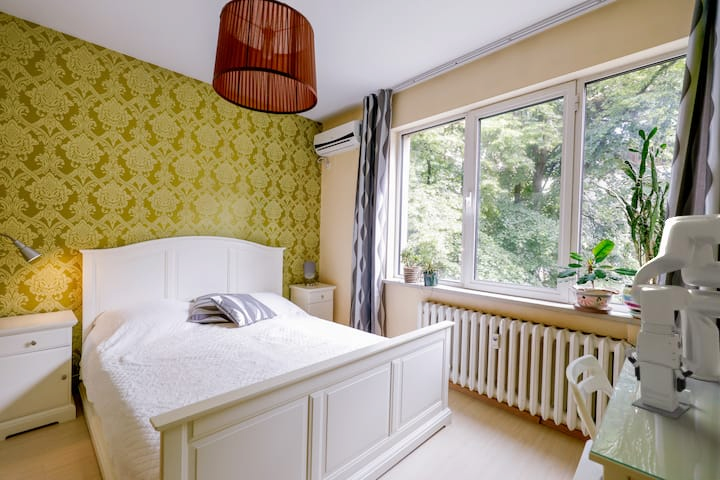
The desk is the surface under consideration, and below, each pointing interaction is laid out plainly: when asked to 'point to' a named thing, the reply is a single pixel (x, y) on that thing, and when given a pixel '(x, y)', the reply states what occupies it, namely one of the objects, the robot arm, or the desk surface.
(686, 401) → the frosted wall
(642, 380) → the supplement box
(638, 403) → the charcoal mat
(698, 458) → the desk surface
